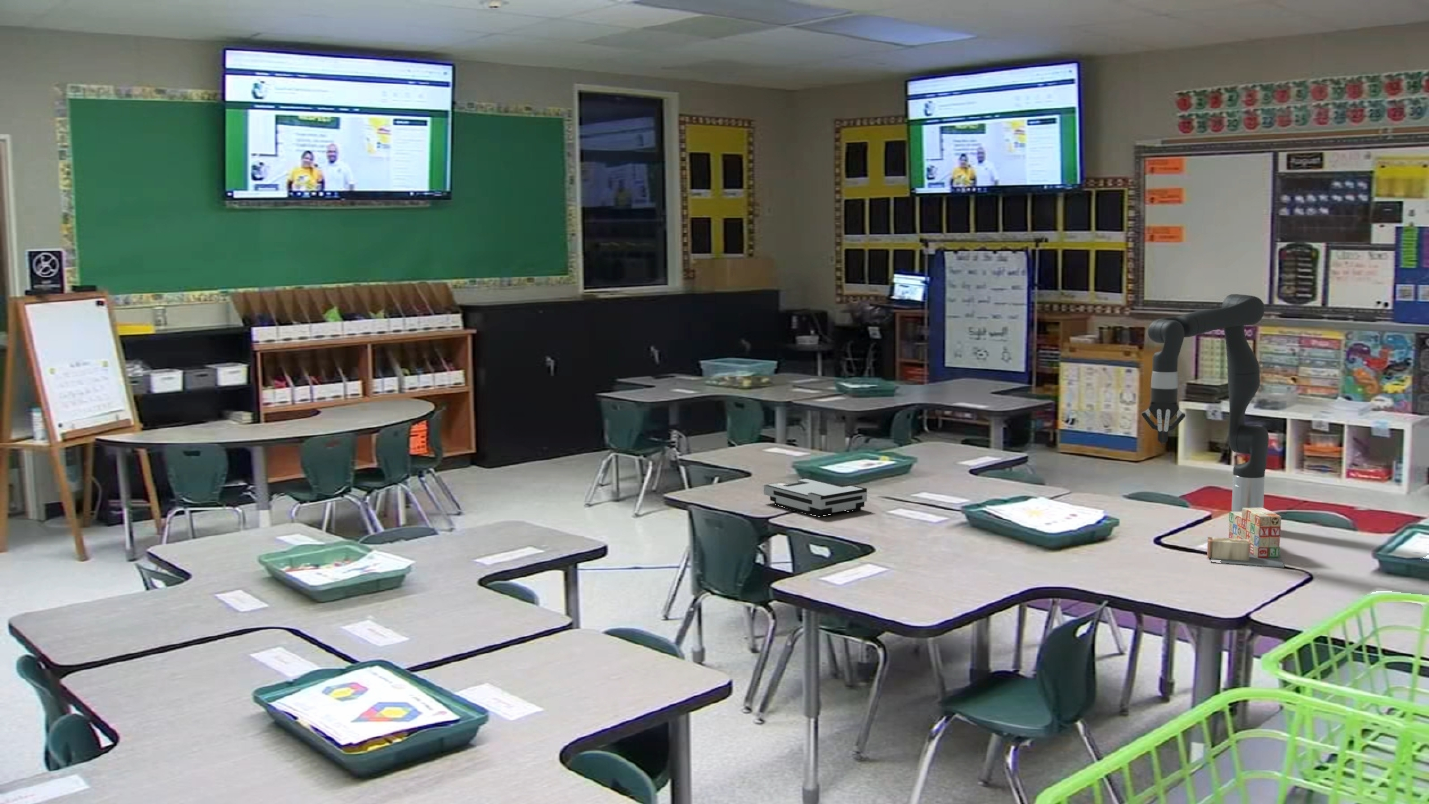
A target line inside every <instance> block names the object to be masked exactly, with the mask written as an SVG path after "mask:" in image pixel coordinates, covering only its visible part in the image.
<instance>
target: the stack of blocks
mask: <svg viewBox="0 0 1429 804" xmlns="http://www.w3.org/2000/svg"><path fill="white" fill-rule="evenodd" d="M1228 522H1229V523H1228V524H1229V525H1228V532H1229V533H1228V538H1231V539H1247V540H1249V542H1250V552H1249V553H1251V554H1253V555H1255V556H1256V557H1279V555H1280V542H1281V541H1280V540H1281V529H1282V527H1281V525H1282V516H1281V515H1279V514H1277V513H1276V512H1275V511H1274V512H1273V511H1271V510H1269V509H1266V508H1265V507H1263V508H1242V512H1232V511H1229V514H1228Z"/></svg>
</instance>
